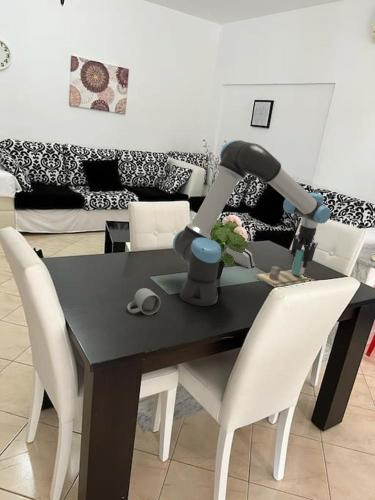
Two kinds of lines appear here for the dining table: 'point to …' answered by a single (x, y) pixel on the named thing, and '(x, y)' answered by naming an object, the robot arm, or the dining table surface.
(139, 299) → the ceramic mug
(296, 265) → the block
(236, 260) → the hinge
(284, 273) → the hole board
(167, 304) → the dining table surface
